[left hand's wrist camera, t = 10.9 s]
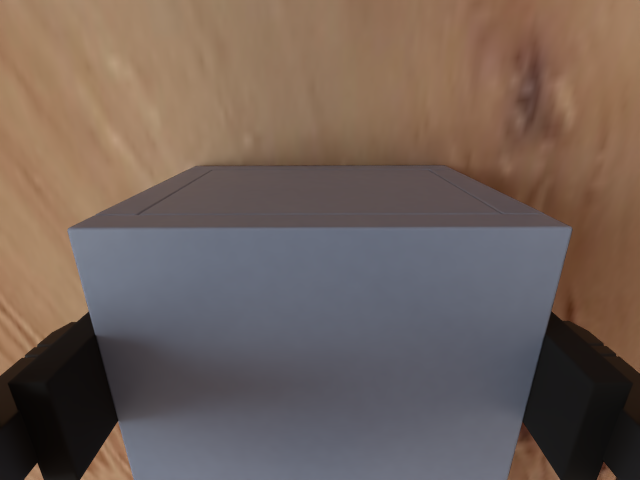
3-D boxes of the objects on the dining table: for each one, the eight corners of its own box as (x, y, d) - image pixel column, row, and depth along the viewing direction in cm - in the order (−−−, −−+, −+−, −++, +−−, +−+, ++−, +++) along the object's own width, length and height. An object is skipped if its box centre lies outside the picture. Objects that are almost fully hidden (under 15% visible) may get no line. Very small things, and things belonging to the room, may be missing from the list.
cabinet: (408, 468, 22) (458, 671, 14) (232, 469, 22) (184, 671, 14) (445, 165, 15) (574, 227, 7) (194, 165, 15) (64, 228, 7)
